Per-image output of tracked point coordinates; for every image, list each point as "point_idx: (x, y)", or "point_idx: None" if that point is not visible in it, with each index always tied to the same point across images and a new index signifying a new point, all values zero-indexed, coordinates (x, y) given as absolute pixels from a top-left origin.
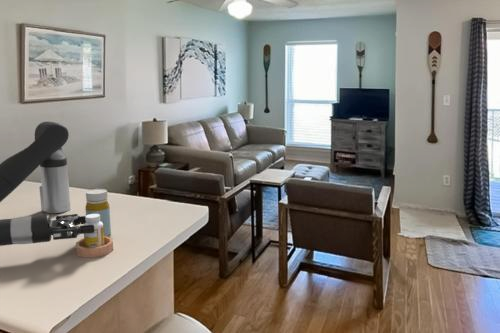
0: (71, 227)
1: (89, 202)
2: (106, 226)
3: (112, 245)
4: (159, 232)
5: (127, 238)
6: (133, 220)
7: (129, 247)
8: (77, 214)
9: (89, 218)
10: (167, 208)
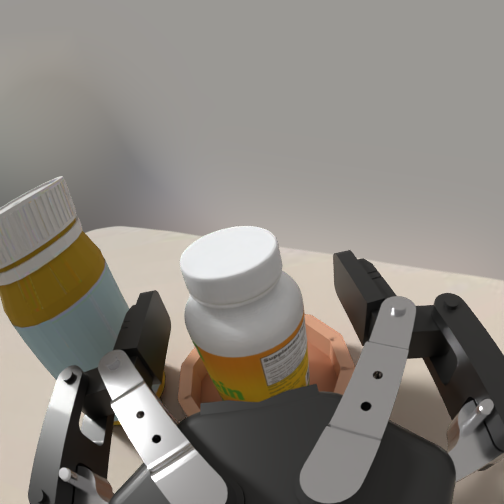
0: (408, 346)
1: (39, 261)
2: None
3: None
4: (173, 260)
5: (180, 313)
6: None
7: None
8: (72, 366)
9: (277, 253)
10: None
